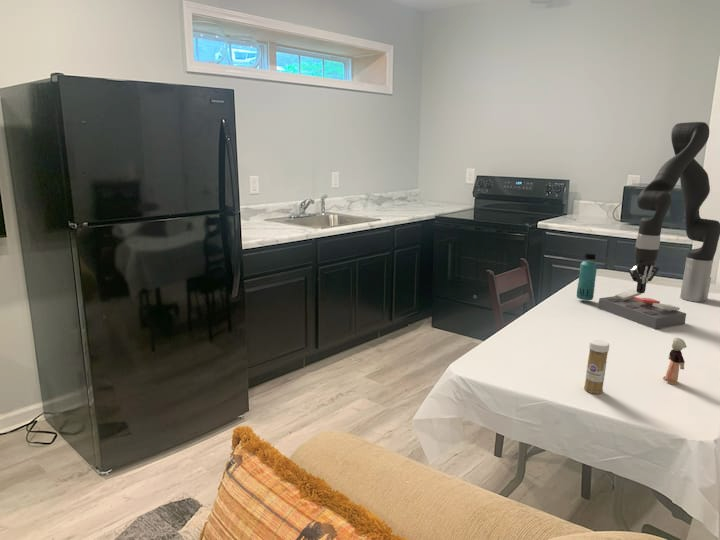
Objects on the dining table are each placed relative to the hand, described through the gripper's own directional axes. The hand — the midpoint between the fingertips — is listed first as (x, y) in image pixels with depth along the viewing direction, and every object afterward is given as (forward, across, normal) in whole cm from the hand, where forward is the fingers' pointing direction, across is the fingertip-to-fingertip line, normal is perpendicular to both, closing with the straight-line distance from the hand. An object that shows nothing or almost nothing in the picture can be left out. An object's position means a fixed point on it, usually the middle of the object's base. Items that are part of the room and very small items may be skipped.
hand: (640, 292), depth 197 cm
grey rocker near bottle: (+4, -4, -8) cm, 10 cm away
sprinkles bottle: (+10, +63, +40) cm, 75 cm away
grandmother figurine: (+9, +39, +44) cm, 59 cm away
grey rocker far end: (+4, -4, +8) cm, 10 cm away
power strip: (+9, -1, 0) cm, 9 cm away
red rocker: (+4, -4, 0) cm, 6 cm away
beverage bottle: (+9, +5, -21) cm, 23 cm away
